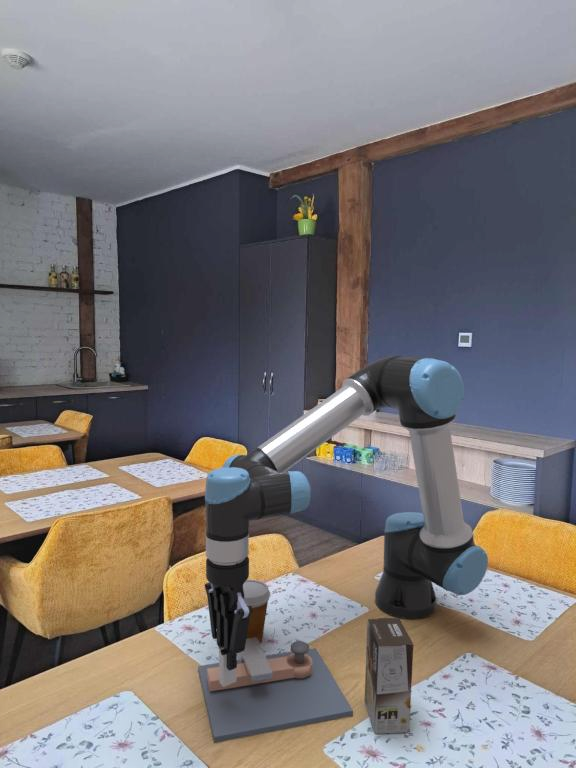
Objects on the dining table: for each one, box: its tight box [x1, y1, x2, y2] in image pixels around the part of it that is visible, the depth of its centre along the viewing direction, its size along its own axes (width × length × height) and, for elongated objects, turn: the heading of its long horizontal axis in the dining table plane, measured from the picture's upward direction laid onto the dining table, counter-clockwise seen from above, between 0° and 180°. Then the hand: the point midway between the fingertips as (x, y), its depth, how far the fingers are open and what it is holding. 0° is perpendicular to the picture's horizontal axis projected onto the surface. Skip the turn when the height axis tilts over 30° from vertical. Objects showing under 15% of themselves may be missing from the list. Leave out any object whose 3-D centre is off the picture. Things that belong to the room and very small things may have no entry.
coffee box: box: [364, 617, 414, 735], centre depth 99 cm, size 9×6×16 cm
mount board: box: [197, 647, 354, 744], centre depth 105 cm, size 25×20×1 cm
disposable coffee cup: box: [243, 579, 271, 645], centre depth 121 cm, size 10×10×12 cm
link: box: [207, 640, 312, 691], centre depth 107 cm, size 21×5×5 cm, turn 106°
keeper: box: [237, 637, 273, 682], centre depth 107 cm, size 4×12×6 cm, turn 17°
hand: (227, 681), depth 100 cm, fingers closed
